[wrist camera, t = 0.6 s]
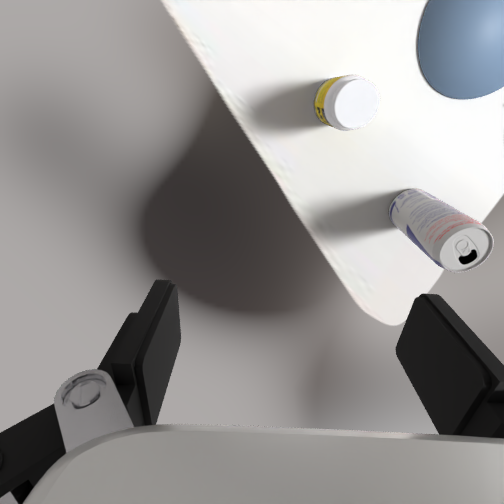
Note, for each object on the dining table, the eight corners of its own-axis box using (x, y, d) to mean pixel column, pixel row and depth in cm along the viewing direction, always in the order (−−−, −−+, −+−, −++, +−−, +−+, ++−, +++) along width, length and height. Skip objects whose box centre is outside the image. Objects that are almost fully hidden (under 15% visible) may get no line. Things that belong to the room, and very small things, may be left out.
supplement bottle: (304, 109, 33) (318, 114, 26) (330, 67, 31) (353, 59, 24) (337, 133, 35) (359, 143, 27) (364, 94, 33) (396, 94, 25)
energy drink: (398, 233, 40) (448, 283, 30) (380, 204, 39) (428, 245, 28) (436, 211, 39) (503, 255, 28) (419, 179, 37) (486, 213, 26)
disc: (476, -93, 26) (478, -94, 26) (589, -25, 28) (591, -25, 28) (393, 71, 31) (394, 70, 31) (491, 117, 34) (492, 117, 33)
